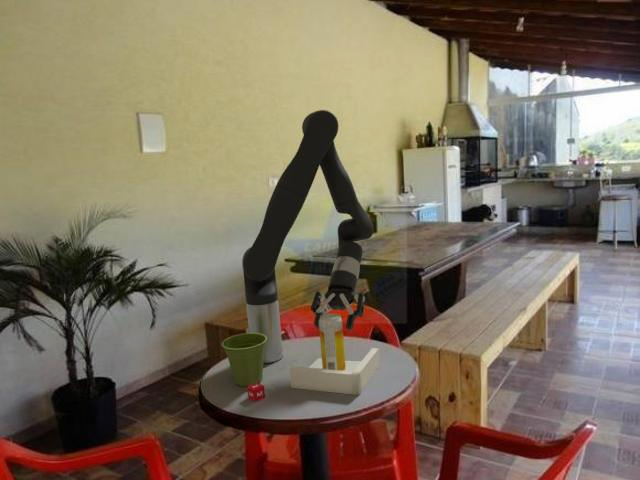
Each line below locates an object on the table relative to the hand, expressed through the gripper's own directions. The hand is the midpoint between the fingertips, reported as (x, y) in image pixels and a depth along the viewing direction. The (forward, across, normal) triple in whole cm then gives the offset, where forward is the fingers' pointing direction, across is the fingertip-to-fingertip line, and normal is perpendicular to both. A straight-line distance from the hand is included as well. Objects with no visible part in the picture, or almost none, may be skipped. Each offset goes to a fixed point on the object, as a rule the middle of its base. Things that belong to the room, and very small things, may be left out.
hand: (332, 328), depth 132 cm
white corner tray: (+10, +1, +7) cm, 12 cm away
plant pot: (+16, -21, +2) cm, 26 cm away
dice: (+22, -14, -4) cm, 26 cm away
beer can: (+9, 0, +8) cm, 12 cm away
